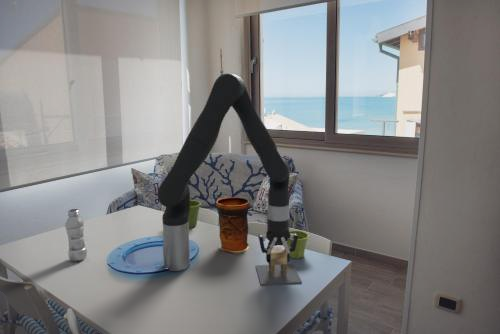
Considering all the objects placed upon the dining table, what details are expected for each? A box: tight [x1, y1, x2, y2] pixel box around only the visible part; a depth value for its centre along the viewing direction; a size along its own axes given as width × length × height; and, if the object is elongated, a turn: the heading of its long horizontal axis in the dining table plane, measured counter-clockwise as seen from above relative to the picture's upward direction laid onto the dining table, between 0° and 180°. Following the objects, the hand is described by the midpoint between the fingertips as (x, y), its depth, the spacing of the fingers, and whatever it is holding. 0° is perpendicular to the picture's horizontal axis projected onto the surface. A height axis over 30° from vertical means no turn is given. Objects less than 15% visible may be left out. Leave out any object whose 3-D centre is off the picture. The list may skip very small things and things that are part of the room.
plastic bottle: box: [64, 208, 88, 262], centre depth 144 cm, size 6×7×20 cm
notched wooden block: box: [268, 246, 288, 276], centre depth 132 cm, size 6×6×8 cm
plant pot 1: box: [188, 199, 202, 229], centre depth 182 cm, size 12×12×11 cm
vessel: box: [215, 196, 251, 254], centre depth 156 cm, size 14×14×20 cm
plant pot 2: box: [286, 230, 310, 259], centre depth 148 cm, size 9×9×9 cm
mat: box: [255, 263, 303, 286], centre depth 133 cm, size 14×14×1 cm
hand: (277, 262), depth 132 cm, fingers closed on notched wooden block, 5 cm apart
